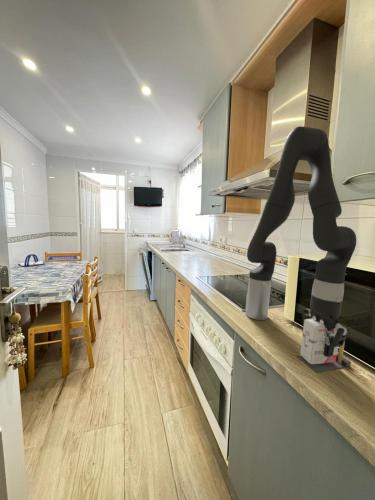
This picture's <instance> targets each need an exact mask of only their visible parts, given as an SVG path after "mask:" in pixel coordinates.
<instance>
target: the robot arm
mask: <svg viewBox="0 0 375 500" xmlns="http://www.w3.org/2000/svg"><path fill="white" fill-rule="evenodd" d="M330 155H331V153H330V145H329V139H328V135H327V133H326V131H324V130H323V129H321V128H316V127H309V126H301V125H300V126H296V127H294V128H293V129H292V130H291V131H290V132H289V134H288V135H287V137H286V139H285V141H284V144H283V147H282V151H281V156H280V158H279V162H278V163H279V164H278V166H277V171H276V173H275V174H276V175H275V176H274V179H273V183H272V187H271V188H270V192H269V195H268V197H267V199H266V201H265V205H264V207H263V210H262V214H261V217H260V219H259V222H258V225H257V226H256V230H255V232H254V233H253V236H252V238H251V240H250V242H249V245H248V247H247V252H246V258H247V260H248V262H250V263H254V264H259V266H258V267H255V268H254V269H253V268H252V269H251V270H250V271H249V274H248V286H247V287H248V288H247V292H246V299H245V310H244V312H245V315H246V317H248V318H250V319H253V320H257V321H265V320H267V319H268V318H269V317H268V315H269V308H270V307H269V306H270V296H271V285H272V279H273V276H274V271H275V265H276V260H277V248H276V247H277V246H276V244H275V243H273V242H271V241H267V239H268V238H269V236H270V235H271V234H273V233H274V232H275V231H276V230H277V229H278V228H280V226H282V225H283V224H284V223H285V222H286V220H288V218H289V216H290V214H291V211H292V210H293V207H294V204H295V201H296V195H295V194H296V192H295V187H294V175H295V172H296V169H297V166H298V163H299V161H303V162H304V161H305V162H307V163H308V165H309V167H310V170H311V180H310V183H309V187H308V189H307V197H308V202H309V206H310V209H311V214H312V215H313V216H312V217H313V219H312V237H313V238H312V239H313V242H314V243H315V246H316V247H317V248H318V249H320V250H321V251H323V252H326V255H324V257H323V258H321V259H319V260H318V261H317V263H316V266H315V273H314V274H315V275H314V280H313V283H312V289H311V296H310V304H309V307H310V308H309V307H308V308H302V309H301V314H302V317H301V318H302V327H303V328H304V320H305V319H312V320H314V321H319V322H320V324H322V325H324V326H325V329H324V336H325V341H326V344H325V347H324V354H323V355H324V356H325V357H330V356H332V355H333V352H334V347H338V348H339V347H340V346H343V344H344V342H345V343H346V340H347V337H348V334H349V332H350V329H349V328H348V327H347V326H345V327H344V326H343V325H341V324H340V321H339V317H340V315H341V314H342V313H341V312H342V306H343V299H344V293H345V279H346V272H347V267H348V265H349V263H350V261H351V259H352V256H353V255H354V252H355V251H356V250H355V249H356V245H357V235H356V232H355V231H354V230H353V229H352V228H351V227H348V226H342V225H341V226H340V225H338V224H337V218H339V217H340V216H341V214H342V213H343V210H342V206H341V202H340V199H339V197H338V193H337V190H336V185H335V183H334V179H333V173H332V172H333V171H332V162H331V161H332V160H331V156H330ZM335 328H336V330H335ZM331 330H333V333H328V332H327V331H331ZM330 336H331V340H330ZM344 345H345V344H344Z"/></svg>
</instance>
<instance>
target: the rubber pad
mask: <svg viewBox="0 0 375 500" xmlns="http://www.w3.org/2000/svg"><path fill="white" fill-rule="evenodd" d="M297 358H299V360H301V361H302V362H303V363H304V364H305V365H306V366H308V367H309V368H310V369H311V370H313V371H314V372H316V373H322V372H326V371H327V372H328V371H332V370H333V371H334V370H338V369H344V366H343V365H342V364H341V365H340V364H339V363H337V361H336V362H335V363H321V364H310V363H309V362H308V361H307V360H306V359H304V358H303V357H302V356H301V355H297Z"/></svg>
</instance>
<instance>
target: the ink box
mask: <svg viewBox="0 0 375 500" xmlns="http://www.w3.org/2000/svg"><path fill="white" fill-rule="evenodd" d="M324 329H325V326H324V325H322V324H320V322H319V321H314V320H312V319H305V320H304V327H303V330H302V337H301V344H300V352H299V354H300V355H299V356H302V357H303V358H304V359H306V360H307V361H308V362H309V363H310V364H321V363H335V362H337V361H336V357H337V353H338V352H339V346H338V347H334V352H333V355H332V356H330V357H325V356H324V355H323V354H324V347H325V344H326V341H325V336H324ZM335 330H336V328H335ZM327 332H328V333H333V330H331V331H327ZM330 340H331V336H330Z"/></svg>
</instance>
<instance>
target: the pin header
mask: <svg viewBox="0 0 375 500" xmlns="http://www.w3.org/2000/svg"><path fill="white" fill-rule="evenodd" d="M345 343H346V341H345V342H344V344H343V346H339V347H338V352H337V357H336V362H337V363H339V364H340V365H342V366H343V367H345V368H350V367H351V364H352V362H351V361H350V360H349V359H347V358H346V357H345V356H344V349H345V345H346V344H345Z"/></svg>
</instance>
